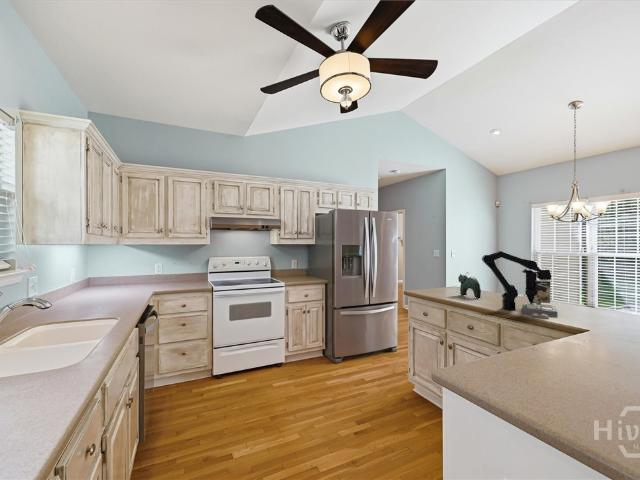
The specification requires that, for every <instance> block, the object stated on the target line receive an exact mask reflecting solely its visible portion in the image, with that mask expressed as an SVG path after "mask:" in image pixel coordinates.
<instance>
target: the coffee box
mask: <svg viewBox="0 0 640 480" xmlns="http://www.w3.org/2000/svg"><path fill="white" fill-rule="evenodd" d="M536 282H537V284H540V285H541V284H545V286H546V287H548V288H547V291H546V292H543V291H541V290H538V289H537V295H535V296H534V299H533V302H534V303H535V304H536V305H541V303H551V280H539V279H538V280H537V279H536Z"/></svg>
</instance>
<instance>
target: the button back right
mask: <svg viewBox="0 0 640 480" xmlns="http://www.w3.org/2000/svg"><path fill="white" fill-rule="evenodd" d="M540 305H541V307H545V308H551V306H552V302H550V303H541V304H540Z"/></svg>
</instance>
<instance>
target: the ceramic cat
mask: <svg viewBox="0 0 640 480" xmlns="http://www.w3.org/2000/svg"><path fill="white" fill-rule="evenodd" d="M467 274H468V275H470V273H469V272H468V271H466V273H465V274H464V275H463V274H462V273H460V274H459V276H458V279H457V280H458V282H459V283H460V289H459V291H460V294H461V295H467V292H468V290H469V289H470V290H471V291H472V292H473V296H474V298H475V297H476V298H480V299H481V297H482V296H481V295H482V290H481V285H480V284H481V283H480V282H479V281H478V279H477V278H476V277H474V276H470V277H468V275H467ZM461 295H460V296H461Z"/></svg>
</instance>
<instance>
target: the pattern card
mask: <svg viewBox="0 0 640 480" xmlns="http://www.w3.org/2000/svg"><path fill="white" fill-rule="evenodd" d="M530 316H531V318H535V317H536V318H537V319H547V320H549V316H548V314H539V313H531V314H530Z"/></svg>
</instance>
